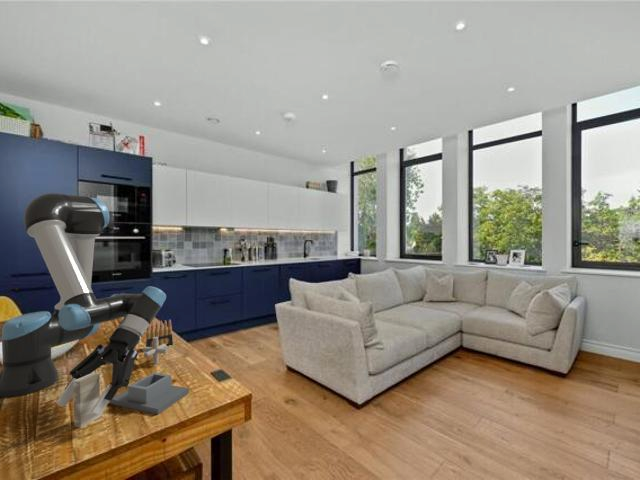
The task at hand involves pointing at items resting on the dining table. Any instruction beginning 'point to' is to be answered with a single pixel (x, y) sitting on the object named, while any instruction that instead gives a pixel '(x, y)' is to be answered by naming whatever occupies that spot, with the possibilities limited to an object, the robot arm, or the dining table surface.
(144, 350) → the pipe connector
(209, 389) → the dining table surface
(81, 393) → the slat
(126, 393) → the rectangular socket base
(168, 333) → the ammunition clip
